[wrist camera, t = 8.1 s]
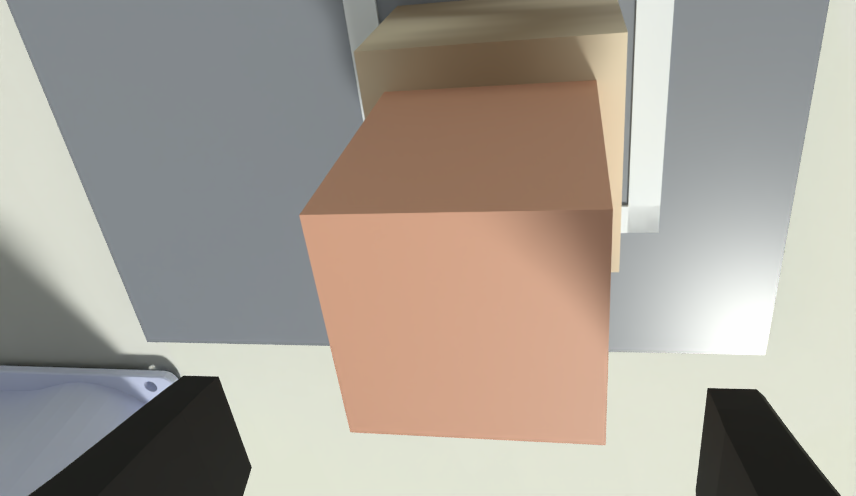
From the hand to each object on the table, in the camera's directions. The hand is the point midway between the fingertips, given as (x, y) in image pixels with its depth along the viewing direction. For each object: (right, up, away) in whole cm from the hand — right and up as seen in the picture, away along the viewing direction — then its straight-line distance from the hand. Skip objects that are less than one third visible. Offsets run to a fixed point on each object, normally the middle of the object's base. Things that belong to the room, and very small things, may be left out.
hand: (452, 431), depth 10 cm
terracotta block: (+1, +4, +4) cm, 6 cm away
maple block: (+2, +7, +8) cm, 10 cm away
